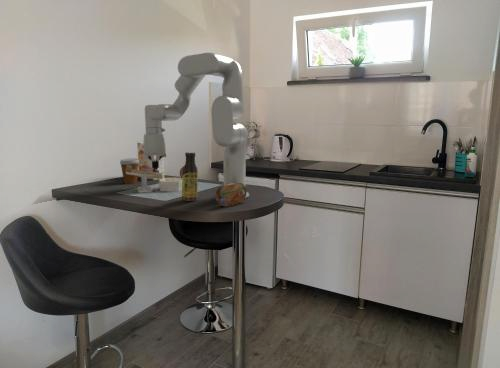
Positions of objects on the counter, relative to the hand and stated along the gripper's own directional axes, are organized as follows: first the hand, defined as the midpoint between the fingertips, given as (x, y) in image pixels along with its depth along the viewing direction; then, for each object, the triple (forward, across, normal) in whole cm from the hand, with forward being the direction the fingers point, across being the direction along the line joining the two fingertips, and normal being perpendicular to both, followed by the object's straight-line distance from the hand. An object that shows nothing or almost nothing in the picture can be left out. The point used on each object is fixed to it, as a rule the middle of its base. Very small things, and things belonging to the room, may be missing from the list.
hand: (155, 169), depth 179 cm
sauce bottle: (+9, -10, +34) cm, 36 cm away
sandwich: (+9, -24, +46) cm, 52 cm away
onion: (+9, -18, -8) cm, 22 cm away
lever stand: (+9, +6, +8) cm, 13 cm away
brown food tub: (+9, +11, -16) cm, 21 cm away
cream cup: (+9, -6, +8) cm, 13 cm away
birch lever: (+1, +6, +4) cm, 8 cm away
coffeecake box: (+9, 0, -28) cm, 30 cm away
